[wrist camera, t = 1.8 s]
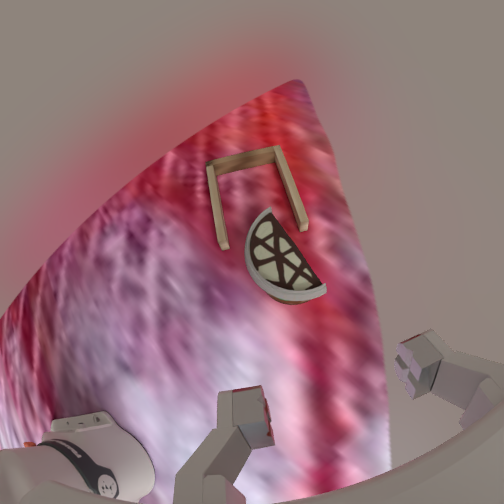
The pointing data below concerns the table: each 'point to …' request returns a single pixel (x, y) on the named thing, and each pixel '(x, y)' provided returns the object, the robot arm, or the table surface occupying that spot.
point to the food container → (279, 263)
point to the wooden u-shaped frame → (249, 161)
